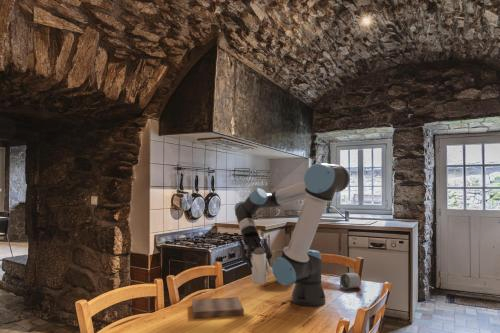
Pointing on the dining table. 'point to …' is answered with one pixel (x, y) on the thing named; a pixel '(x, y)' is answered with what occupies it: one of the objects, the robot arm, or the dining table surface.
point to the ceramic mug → (350, 280)
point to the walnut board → (217, 307)
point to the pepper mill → (259, 266)
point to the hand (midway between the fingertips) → (262, 273)
